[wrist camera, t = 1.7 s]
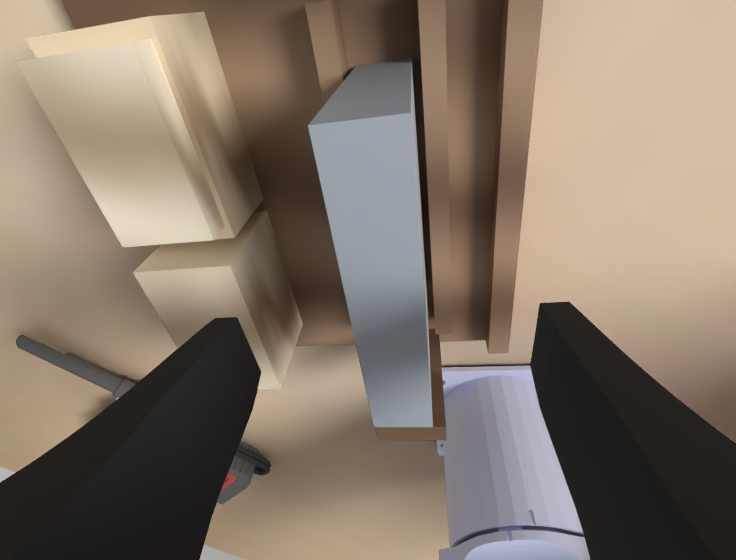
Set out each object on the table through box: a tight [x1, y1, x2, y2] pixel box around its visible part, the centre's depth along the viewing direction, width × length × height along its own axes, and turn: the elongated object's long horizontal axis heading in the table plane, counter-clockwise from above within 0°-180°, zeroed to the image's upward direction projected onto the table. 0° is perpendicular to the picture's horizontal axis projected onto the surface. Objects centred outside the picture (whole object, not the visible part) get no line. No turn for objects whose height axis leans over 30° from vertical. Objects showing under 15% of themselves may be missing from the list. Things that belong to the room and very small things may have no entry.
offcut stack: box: [15, 12, 303, 390], centre depth 16 cm, size 15×4×4 cm, turn 8°
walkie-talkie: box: [16, 335, 271, 504], centre depth 29 cm, size 9×4×20 cm
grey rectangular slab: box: [308, 58, 433, 427], centre depth 14 cm, size 10×2×8 cm, turn 8°
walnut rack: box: [62, 0, 543, 440], centre depth 15 cm, size 18×16×7 cm
